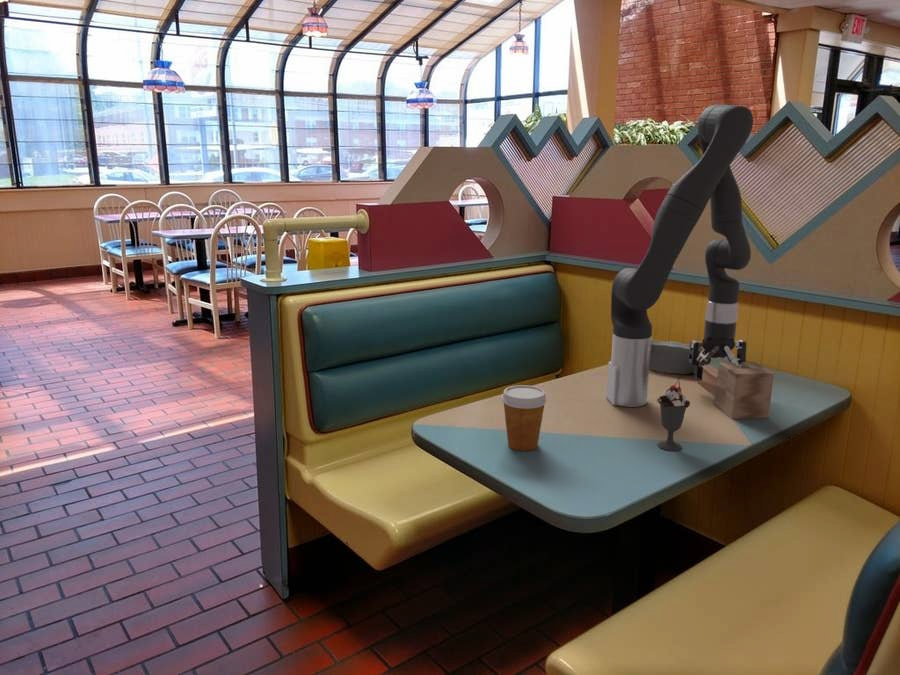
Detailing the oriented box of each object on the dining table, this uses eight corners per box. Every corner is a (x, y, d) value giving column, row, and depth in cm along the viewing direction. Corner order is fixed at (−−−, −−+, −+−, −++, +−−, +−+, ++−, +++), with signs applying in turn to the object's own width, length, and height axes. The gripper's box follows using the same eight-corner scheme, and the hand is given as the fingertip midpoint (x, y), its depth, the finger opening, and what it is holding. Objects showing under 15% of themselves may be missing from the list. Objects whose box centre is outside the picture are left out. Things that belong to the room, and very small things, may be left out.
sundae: (682, 440, 154) (688, 374, 150) (689, 453, 147) (695, 384, 143) (650, 439, 154) (656, 373, 150) (656, 452, 148) (662, 383, 144)
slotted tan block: (731, 418, 166) (736, 374, 163) (714, 405, 175) (719, 362, 172) (768, 417, 167) (773, 373, 164) (749, 404, 176) (754, 361, 173)
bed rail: (731, 409, 172) (734, 390, 171) (698, 383, 191) (699, 365, 190) (743, 409, 172) (746, 389, 171) (708, 383, 191) (710, 365, 190)
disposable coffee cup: (516, 432, 158) (518, 381, 155) (553, 443, 152) (555, 390, 149) (491, 446, 151) (492, 392, 148) (529, 458, 145) (531, 402, 142)
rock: (711, 368, 205) (714, 341, 203) (703, 378, 196) (705, 351, 194) (648, 359, 214) (649, 334, 212) (637, 369, 205) (638, 342, 203)
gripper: (700, 322, 176) (694, 384, 180) (755, 321, 177) (748, 383, 181) (687, 315, 183) (682, 375, 188) (741, 315, 185) (734, 374, 189)
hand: (714, 379), depth 185 cm, fingers open, 8 cm apart
